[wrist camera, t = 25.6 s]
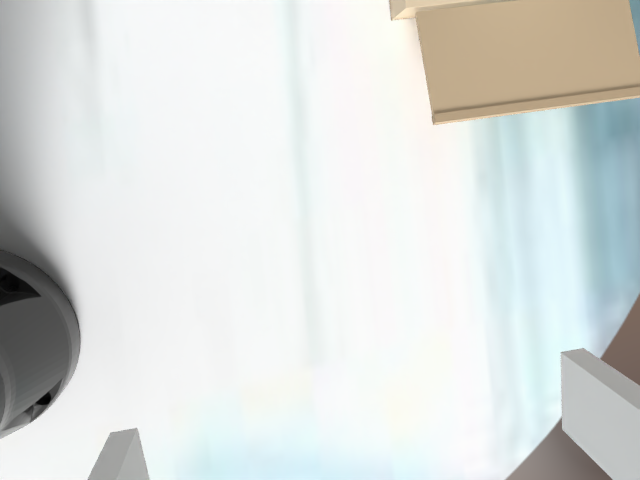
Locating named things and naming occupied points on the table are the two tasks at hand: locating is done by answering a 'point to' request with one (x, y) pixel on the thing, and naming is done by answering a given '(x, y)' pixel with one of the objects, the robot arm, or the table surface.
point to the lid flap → (527, 57)
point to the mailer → (429, 6)
